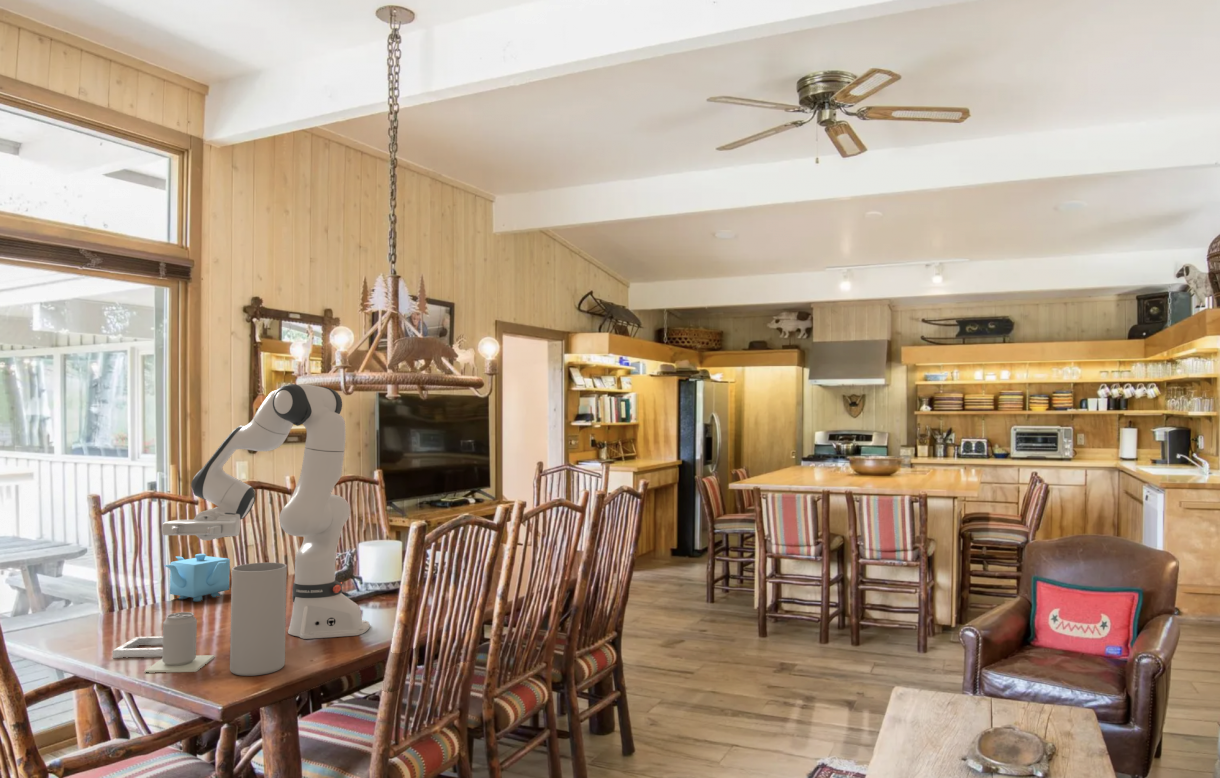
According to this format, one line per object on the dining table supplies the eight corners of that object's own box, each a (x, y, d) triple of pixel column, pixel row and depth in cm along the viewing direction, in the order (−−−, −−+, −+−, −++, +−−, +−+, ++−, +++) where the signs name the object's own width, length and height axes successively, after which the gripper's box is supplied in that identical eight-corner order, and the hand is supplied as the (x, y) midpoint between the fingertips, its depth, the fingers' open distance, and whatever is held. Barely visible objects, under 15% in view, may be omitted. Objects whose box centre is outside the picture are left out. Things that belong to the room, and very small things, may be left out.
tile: (214, 657, 215) (214, 655, 215) (196, 671, 203) (196, 669, 203) (165, 658, 213) (165, 656, 213) (144, 673, 202) (144, 670, 202)
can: (181, 668, 204) (182, 618, 204) (155, 665, 205) (156, 616, 206) (202, 659, 211) (203, 611, 211) (177, 657, 213) (178, 609, 213)
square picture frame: (185, 643, 228) (186, 635, 228) (165, 656, 215) (166, 649, 215) (135, 644, 226) (135, 636, 226) (112, 658, 213) (112, 650, 214)
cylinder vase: (281, 659, 214) (283, 561, 215) (287, 672, 203) (289, 569, 204) (228, 665, 208) (230, 564, 209) (231, 679, 197) (233, 573, 198)
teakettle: (231, 590, 296) (232, 548, 297) (226, 601, 279) (227, 557, 279) (172, 593, 290) (173, 551, 291) (162, 605, 272) (163, 560, 273)
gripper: (173, 514, 245) (152, 520, 231) (245, 513, 247) (229, 519, 233) (172, 535, 245) (151, 543, 231) (244, 535, 247) (228, 542, 233)
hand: (191, 531), depth 232 cm, fingers open, 8 cm apart
